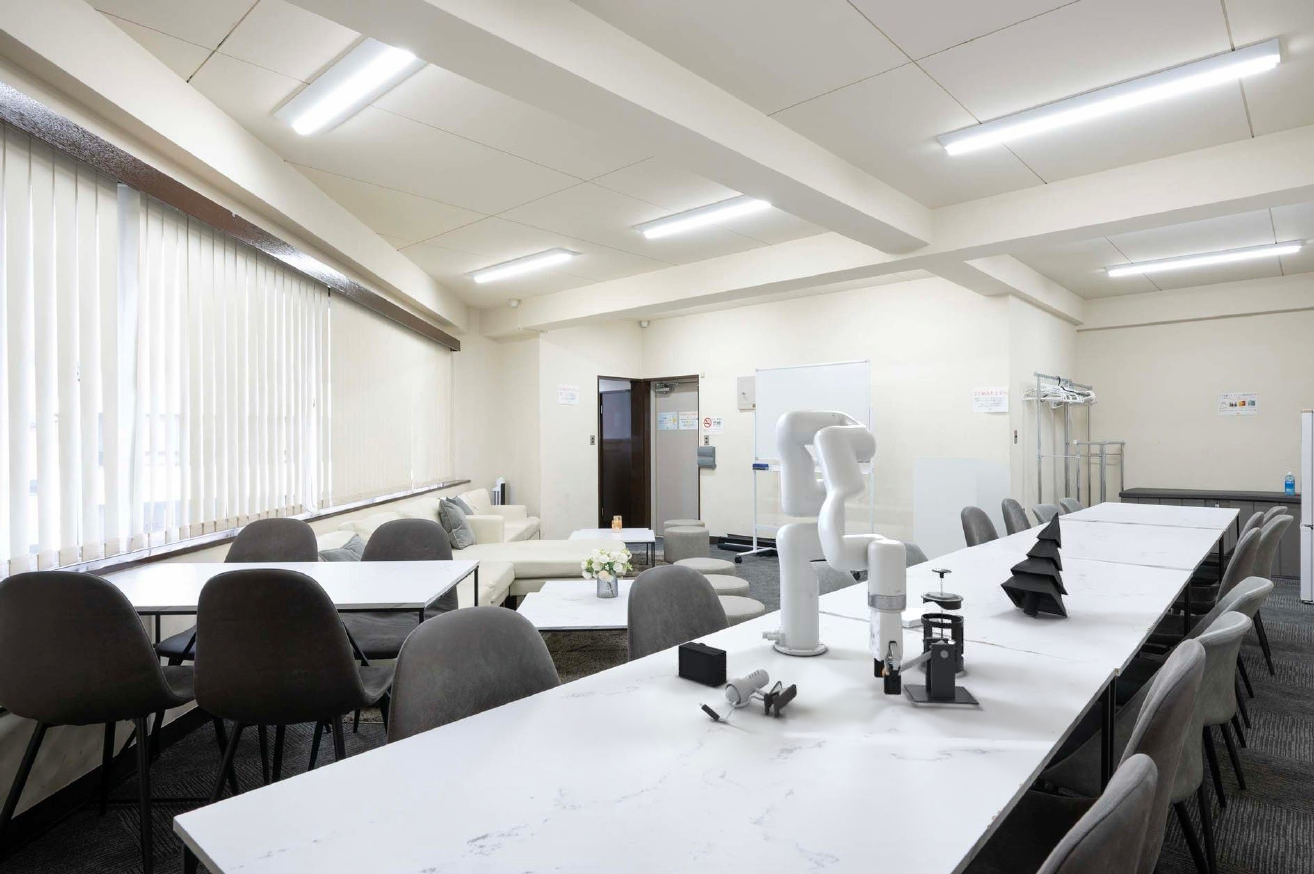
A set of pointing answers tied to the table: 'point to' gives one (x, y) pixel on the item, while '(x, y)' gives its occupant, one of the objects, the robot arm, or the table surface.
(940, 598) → the french press
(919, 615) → the mounting plate
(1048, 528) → the decorative tree
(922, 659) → the switch lever
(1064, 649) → the table surface
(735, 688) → the clip-on lamp
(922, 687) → the switch bracket
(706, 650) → the digital camera
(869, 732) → the table surface
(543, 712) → the table surface
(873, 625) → the robot arm
